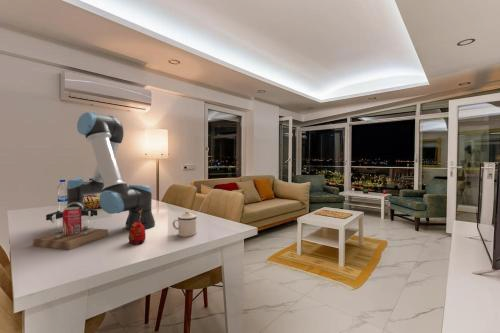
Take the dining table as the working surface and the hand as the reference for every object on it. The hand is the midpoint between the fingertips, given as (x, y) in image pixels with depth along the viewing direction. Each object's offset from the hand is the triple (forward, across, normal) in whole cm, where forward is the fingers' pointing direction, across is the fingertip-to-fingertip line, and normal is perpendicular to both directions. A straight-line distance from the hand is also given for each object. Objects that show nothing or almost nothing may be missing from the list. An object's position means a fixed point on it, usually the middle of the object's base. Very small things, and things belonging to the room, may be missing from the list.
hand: (71, 218), depth 116 cm
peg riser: (-1, 0, -10) cm, 11 cm away
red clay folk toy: (+17, -25, -11) cm, 32 cm away
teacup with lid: (+16, -47, -11) cm, 51 cm away
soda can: (-1, 0, -8) cm, 8 cm away
